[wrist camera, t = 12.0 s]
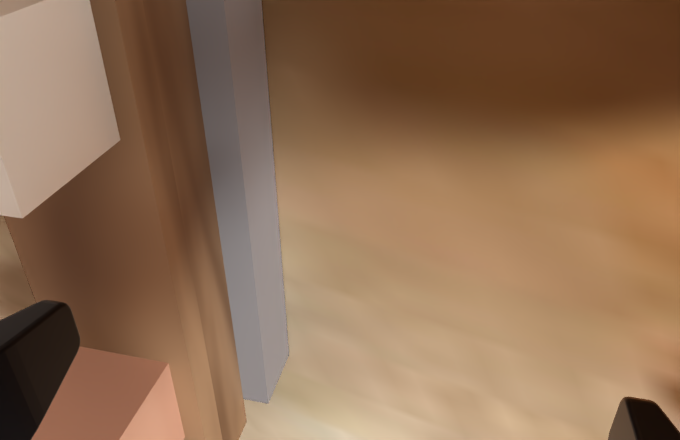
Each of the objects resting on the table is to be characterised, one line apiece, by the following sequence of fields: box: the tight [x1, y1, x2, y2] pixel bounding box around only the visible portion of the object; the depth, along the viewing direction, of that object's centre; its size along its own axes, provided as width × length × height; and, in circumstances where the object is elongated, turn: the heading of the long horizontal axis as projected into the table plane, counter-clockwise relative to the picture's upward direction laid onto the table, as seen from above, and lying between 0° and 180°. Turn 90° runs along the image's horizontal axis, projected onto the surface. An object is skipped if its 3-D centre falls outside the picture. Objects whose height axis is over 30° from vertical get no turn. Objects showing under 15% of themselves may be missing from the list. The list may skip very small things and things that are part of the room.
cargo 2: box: [31, 347, 185, 440], centre depth 21 cm, size 4×4×4 cm
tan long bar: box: [4, 0, 247, 440], centre depth 20 cm, size 6×23×4 cm, turn 0°
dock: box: [186, 0, 289, 403], centre depth 23 cm, size 8×20×3 cm, turn 0°
